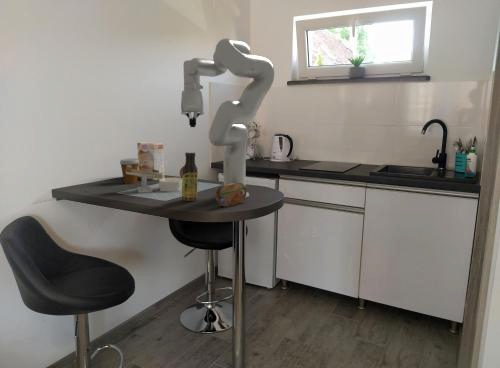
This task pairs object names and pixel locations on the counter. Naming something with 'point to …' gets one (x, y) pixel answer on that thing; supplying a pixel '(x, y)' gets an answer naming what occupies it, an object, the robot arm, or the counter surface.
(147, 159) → the coffeecake box
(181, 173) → the onion
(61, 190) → the counter surface
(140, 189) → the lever stand
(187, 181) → the sauce bottle
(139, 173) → the birch lever
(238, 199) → the sandwich
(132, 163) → the brown food tub
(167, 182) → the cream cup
